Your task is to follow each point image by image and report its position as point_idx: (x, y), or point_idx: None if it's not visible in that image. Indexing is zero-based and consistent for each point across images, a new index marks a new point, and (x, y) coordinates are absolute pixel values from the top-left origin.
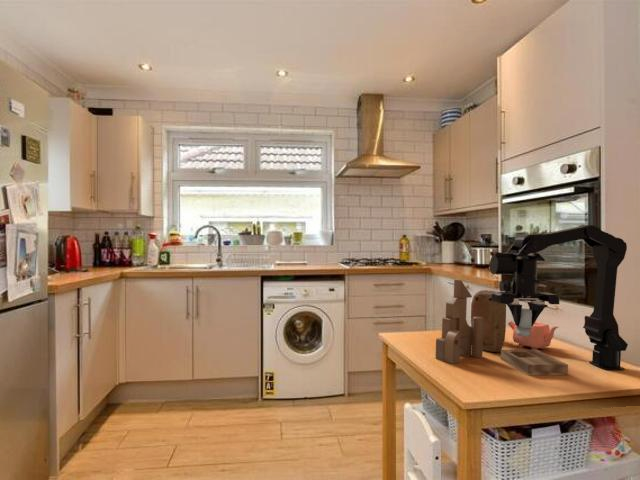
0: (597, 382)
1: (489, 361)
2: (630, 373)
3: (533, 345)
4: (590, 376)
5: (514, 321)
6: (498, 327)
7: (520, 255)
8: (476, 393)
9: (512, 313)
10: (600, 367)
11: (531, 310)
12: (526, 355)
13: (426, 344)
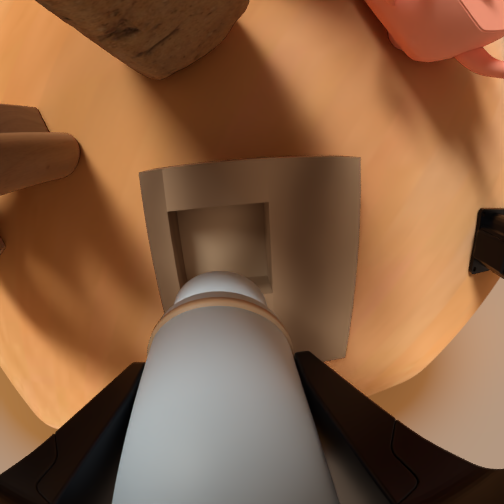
0: (369, 368)
1: (92, 214)
2: (491, 284)
3: (400, 42)
4: (392, 330)
5: (110, 386)
6: (136, 26)
7: None
8: (55, 413)
9: (55, 457)
10: (472, 256)
11: None
12: (267, 208)
13: None
